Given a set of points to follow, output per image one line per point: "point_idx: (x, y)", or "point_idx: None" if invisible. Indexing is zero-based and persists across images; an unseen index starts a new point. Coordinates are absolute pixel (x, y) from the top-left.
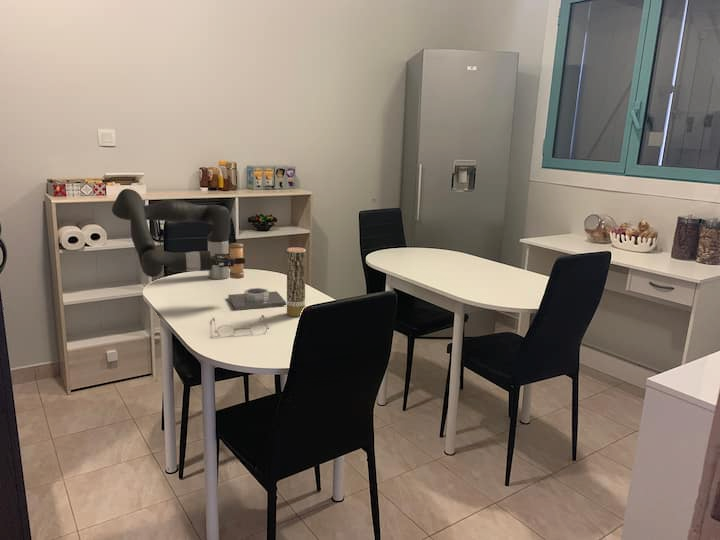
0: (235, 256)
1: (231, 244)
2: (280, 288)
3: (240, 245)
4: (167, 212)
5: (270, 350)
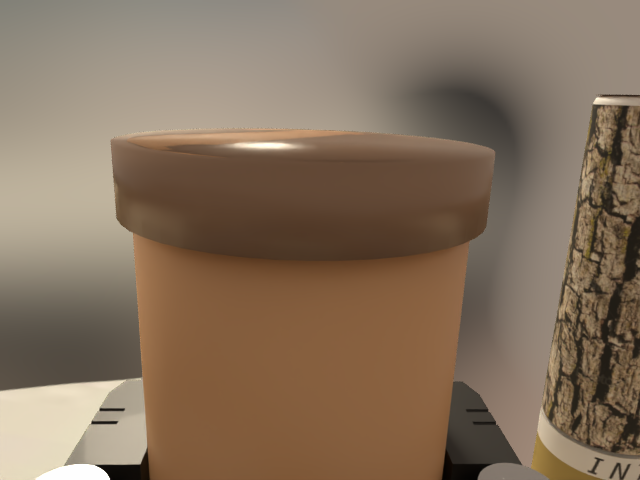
0: (447, 418)
1: (303, 154)
2: (27, 474)
3: (439, 140)
4: None
5: None
